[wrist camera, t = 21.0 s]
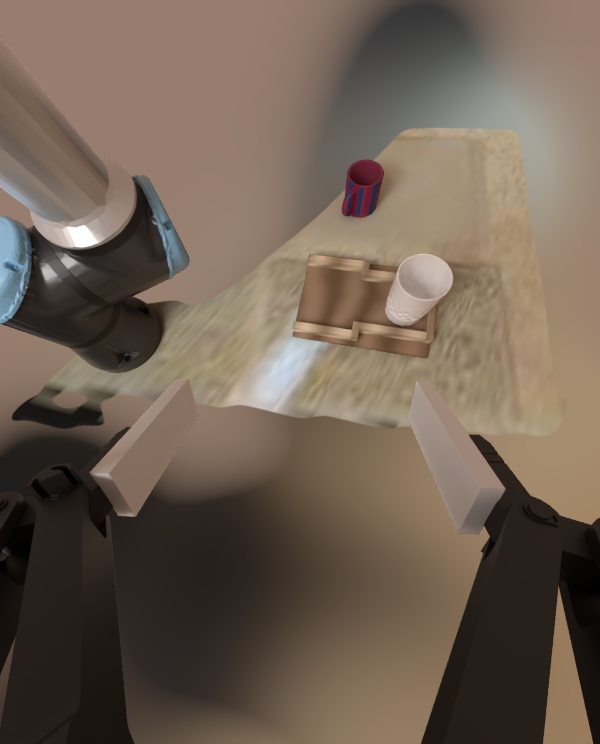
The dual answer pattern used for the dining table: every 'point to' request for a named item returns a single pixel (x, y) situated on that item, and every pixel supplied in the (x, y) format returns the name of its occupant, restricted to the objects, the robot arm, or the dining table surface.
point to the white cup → (417, 288)
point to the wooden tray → (356, 308)
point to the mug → (362, 188)
